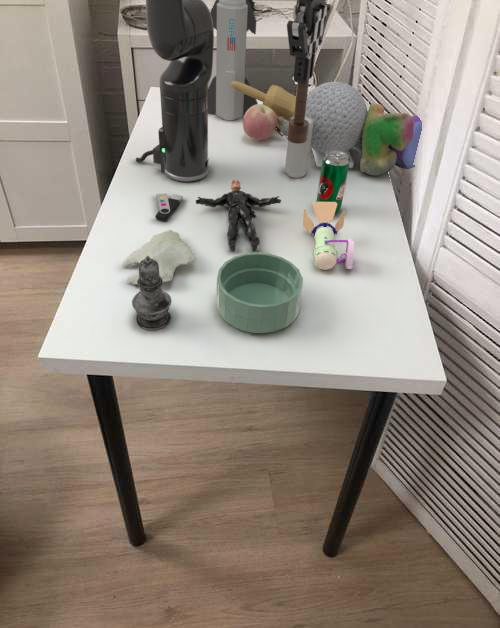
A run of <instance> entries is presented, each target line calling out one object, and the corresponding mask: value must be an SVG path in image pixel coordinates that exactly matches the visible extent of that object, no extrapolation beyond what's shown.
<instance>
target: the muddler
mask: <svg viewBox="0 0 500 628" xmlns="http://www.w3.org/2000/svg"><path fill="white" fill-rule="evenodd" d="M312 50H313V46H312ZM311 54H312V52H311ZM310 58H311V59H312V55H311V57H310ZM311 59H310V68H311ZM310 68H309V76H310ZM309 83H310V79H309V77H308V81H307V82H306V83H305V84H303V83H298V82H296V92H295V94H296V95H295V96H296V102H295V112H294V119H291V120H289V121H288V135H287V136H286V137H287V138H286V139H288V140H287V142H288V141H290V142H292V143H297V144H301V143H305V142H306V141H307V136H308V128H309V122H308V121H307V120H305V112H306V103H307V95H308V94H309Z"/></svg>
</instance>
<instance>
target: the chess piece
mask: <svg viewBox="0 0 500 628" xmlns="http://www.w3.org/2000/svg"><path fill="white" fill-rule="evenodd" d="M138 268H139V279H138V281H137V284H138V285H137V286H138V287H139V292H137V293H136V294H135V295H134V297H132V300H131V305H132V308H133V309H134V311H135V313H136V317H135V322H136V324H137V326H138V327H139V328H141V329H143V330H146V331H151V332H152V331H158V330H162V329H164V328H166V327H167V326H168V325H169V324H170V322H171V318H172V316H171V313H170V312H169V309H170V307H171V305H172V302H173V301H172V300H173V299H172V297H171V295H170V294H169V293H168V292H166V290H163V289H162V285H163V283H164V282H163V281H162V278H161V277H160V276H159V265H158V263H157V261H155V260H154V259H150V257H149V256H147V257H146V258H145V259H144V260H142V261H141V262H140V263H138V265H137V269H138Z"/></svg>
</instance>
